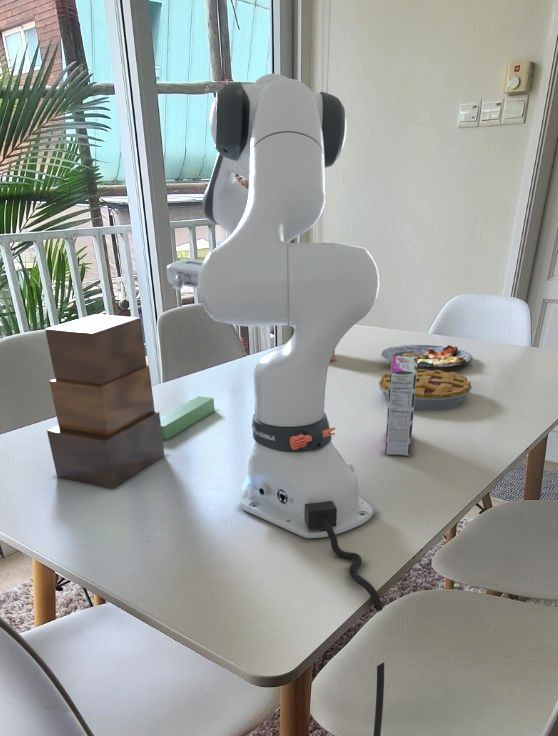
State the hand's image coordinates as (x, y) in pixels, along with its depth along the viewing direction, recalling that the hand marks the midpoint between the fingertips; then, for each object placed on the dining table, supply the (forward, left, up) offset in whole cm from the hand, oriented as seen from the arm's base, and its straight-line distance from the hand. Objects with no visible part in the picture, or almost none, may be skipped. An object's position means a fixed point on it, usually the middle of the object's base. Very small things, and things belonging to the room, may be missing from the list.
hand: (194, 289), depth 131 cm
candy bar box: (-43, -20, -27) cm, 54 cm away
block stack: (-17, +29, -27) cm, 42 cm away
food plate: (-3, -70, -27) cm, 75 cm away
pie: (-25, -46, -27) cm, 59 cm away
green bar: (-5, +8, -27) cm, 28 cm away
